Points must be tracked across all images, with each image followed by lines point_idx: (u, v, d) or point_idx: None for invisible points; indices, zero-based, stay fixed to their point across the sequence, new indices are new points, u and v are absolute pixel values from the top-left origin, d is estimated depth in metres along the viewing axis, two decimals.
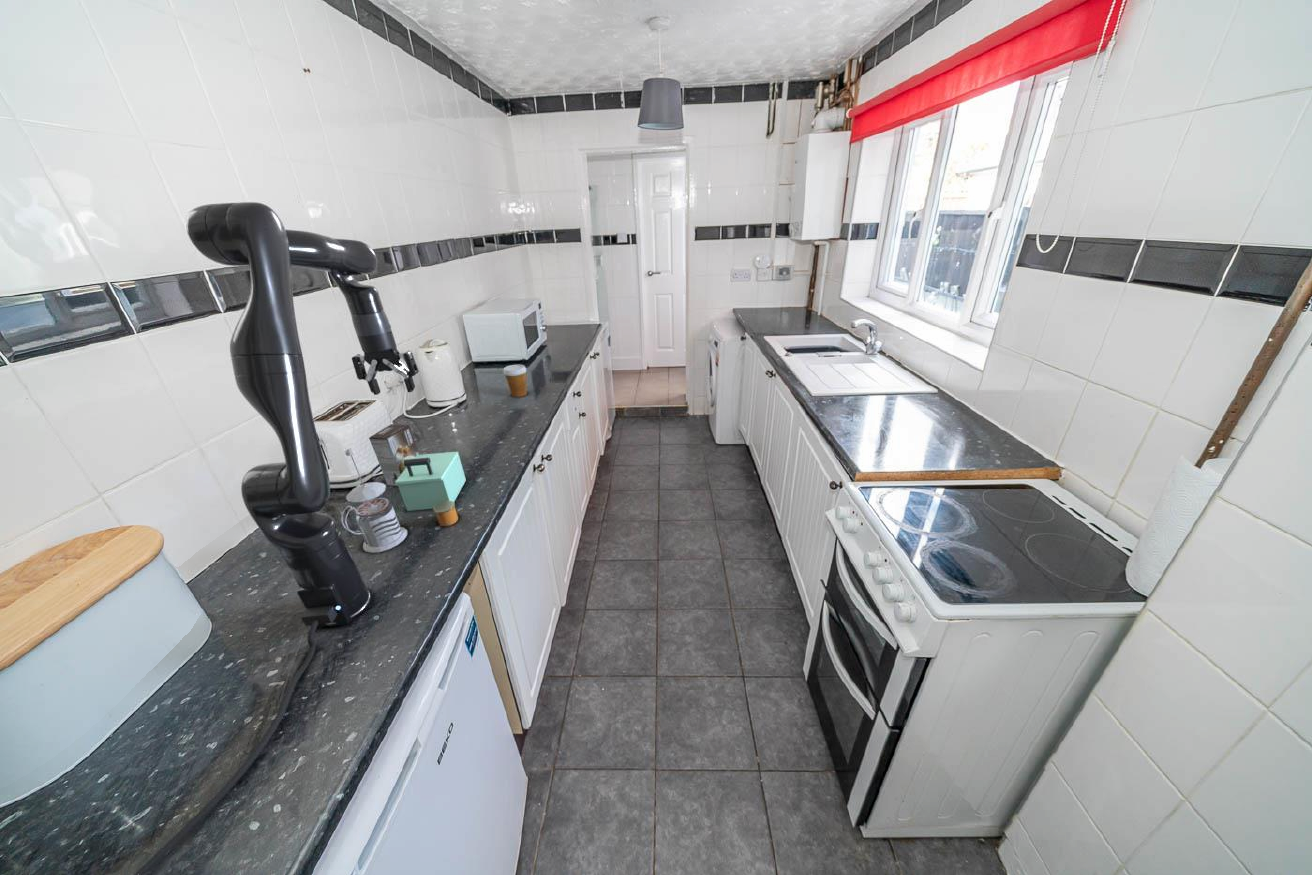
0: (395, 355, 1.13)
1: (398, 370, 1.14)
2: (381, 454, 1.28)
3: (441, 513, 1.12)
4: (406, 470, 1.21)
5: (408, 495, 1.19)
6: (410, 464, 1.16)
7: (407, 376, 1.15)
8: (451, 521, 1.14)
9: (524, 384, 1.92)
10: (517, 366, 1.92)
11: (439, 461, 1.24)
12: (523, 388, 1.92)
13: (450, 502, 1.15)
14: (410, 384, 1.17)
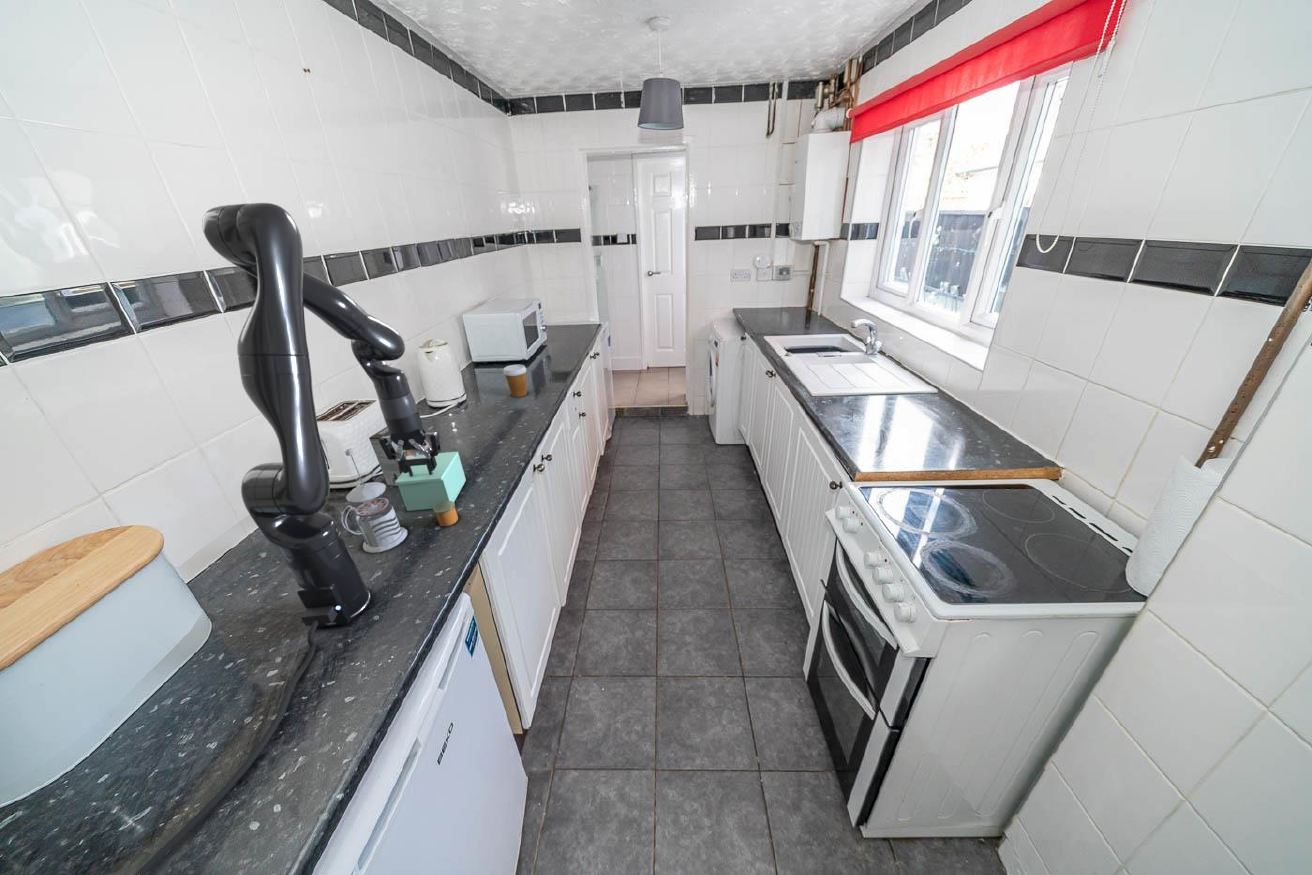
0: (421, 435, 1.12)
1: (422, 450, 1.14)
2: (381, 454, 1.28)
3: (441, 513, 1.12)
4: None
5: (408, 495, 1.19)
6: (410, 464, 1.16)
7: (430, 456, 1.15)
8: (451, 521, 1.14)
9: (524, 384, 1.92)
10: (517, 366, 1.92)
11: (439, 461, 1.24)
12: (523, 388, 1.92)
13: (450, 502, 1.15)
14: (432, 463, 1.16)
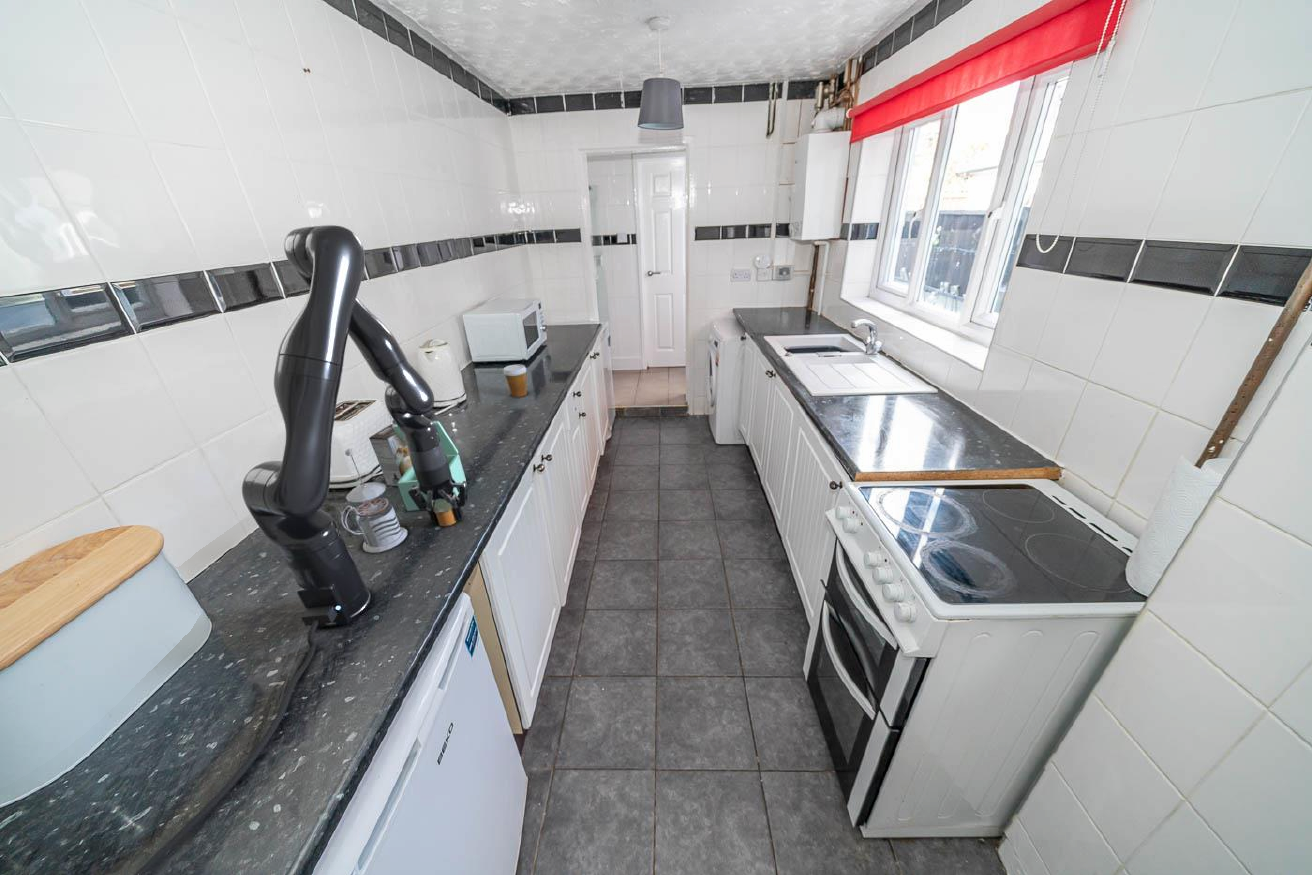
0: (451, 485, 1.10)
1: (450, 501, 1.12)
2: (381, 454, 1.28)
3: (441, 513, 1.12)
4: None
5: (408, 495, 1.19)
6: None
7: (456, 506, 1.13)
8: (451, 521, 1.14)
9: (524, 384, 1.92)
10: (517, 366, 1.92)
11: None
12: (523, 388, 1.92)
13: None
14: (459, 513, 1.15)
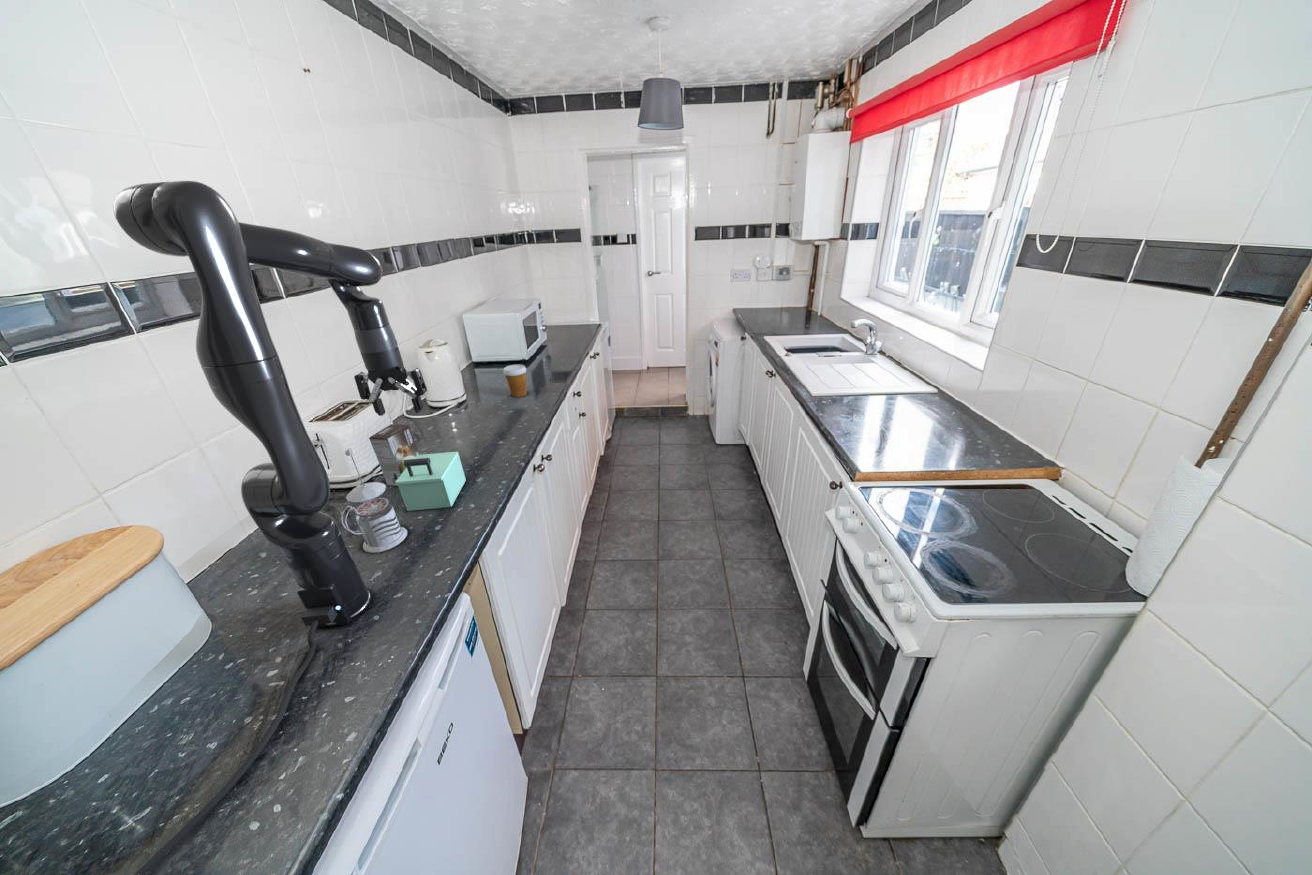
0: (402, 373, 1.03)
1: (405, 389, 1.04)
2: (381, 454, 1.28)
3: None
4: (406, 470, 1.21)
5: (408, 495, 1.19)
6: (410, 464, 1.16)
7: (415, 396, 1.06)
8: None
9: (524, 384, 1.92)
10: (517, 366, 1.92)
11: (439, 461, 1.24)
12: (523, 388, 1.92)
13: None
14: (418, 404, 1.07)
